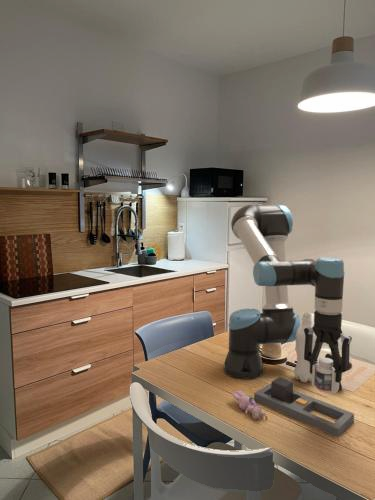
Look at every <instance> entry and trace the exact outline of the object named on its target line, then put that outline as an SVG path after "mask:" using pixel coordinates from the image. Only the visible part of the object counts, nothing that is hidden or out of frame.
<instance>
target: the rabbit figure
mask: <svg viewBox="0 0 375 500" xmlns="http://www.w3.org/2000/svg"><path fill="white" fill-rule="evenodd" d="M231 395H232V396H233V398H234V399H235V401H237V403H238V406H239V408H240V409H241V410H245V414H247V413H248V412H249V413H251V415H252V418H253V419H254V420H255V421H257V420H258V424H259V423H261V422H262V419H263V418H264V417H265V419H264V420H266V421H267V420H268V415H266V413H265V412H264V411H263V410H262V409H263V408H262V406H259V405H257V404H256V401H255V400H254V396H252V395H251V396H248V395H246V393H244V392H243V390H235V391H234V392H231Z"/></svg>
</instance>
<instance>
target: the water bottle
mask: <svg viewBox="0 0 375 500" xmlns="http://www.w3.org/2000/svg"><path fill="white" fill-rule="evenodd" d="M312 321H313V318H312V312H310V311H309V312H308V311H305V312H304V311H303V312H302V317H301V322H300V327H299V328H298V330H297V332H296V340H295V352H296V359H297V360H296V365H295V367H294V369H293V372H294V376H295V379H296V380H299V381H300V382H302V383H307V382H312V374H310V362H309V361H307V360H305V359H304V349H305V333H304V329H305V328H307V327H313V326H314V325H313V324H312V323H313V322H312ZM316 338H317V337H316V335H315V333H314V332H313V342H312V352H313V349H314V346H315V341H316Z"/></svg>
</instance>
